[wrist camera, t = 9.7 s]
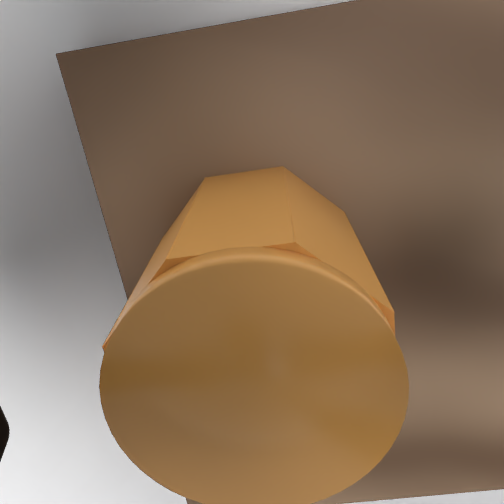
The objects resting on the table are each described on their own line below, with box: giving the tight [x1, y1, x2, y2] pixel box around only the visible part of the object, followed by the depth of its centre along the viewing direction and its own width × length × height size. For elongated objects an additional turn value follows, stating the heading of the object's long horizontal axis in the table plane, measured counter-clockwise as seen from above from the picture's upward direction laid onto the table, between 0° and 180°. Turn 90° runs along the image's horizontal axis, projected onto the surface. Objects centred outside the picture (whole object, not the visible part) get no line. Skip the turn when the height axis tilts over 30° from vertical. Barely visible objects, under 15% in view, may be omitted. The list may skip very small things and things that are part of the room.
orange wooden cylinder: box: [99, 166, 409, 504], centre depth 11 cm, size 5×5×6 cm
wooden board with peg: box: [56, 0, 504, 504], centre depth 12 cm, size 16×12×6 cm
